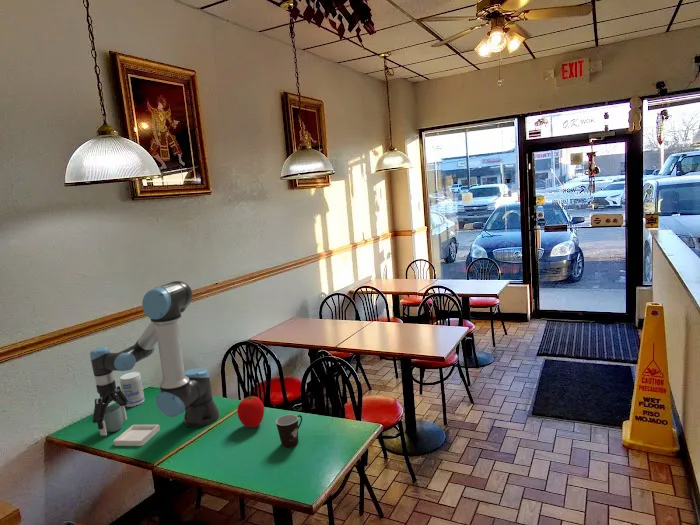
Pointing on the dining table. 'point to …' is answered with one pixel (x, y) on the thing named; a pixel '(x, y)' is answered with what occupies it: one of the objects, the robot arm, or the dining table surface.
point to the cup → (113, 418)
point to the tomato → (251, 411)
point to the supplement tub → (132, 388)
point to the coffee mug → (288, 430)
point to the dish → (136, 435)
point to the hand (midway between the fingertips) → (114, 427)
